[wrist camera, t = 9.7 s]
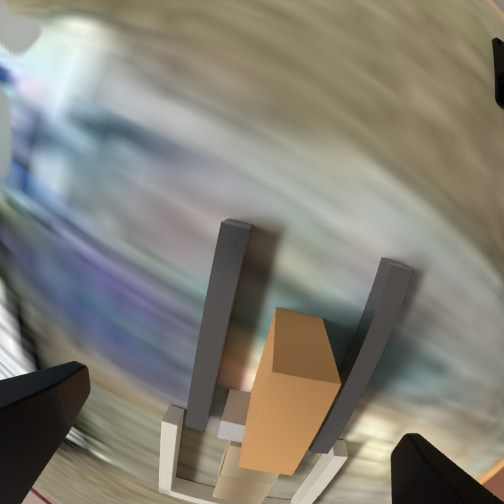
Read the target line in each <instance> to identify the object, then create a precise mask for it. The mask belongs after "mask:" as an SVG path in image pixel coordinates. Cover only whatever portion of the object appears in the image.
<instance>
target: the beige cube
mask: <svg viewBox="0 0 504 504" xmlns="http://www.w3.org/2000/svg"><path fill="white" fill-rule="evenodd" d="M241 447H242V443H239V442H234V441H230V440H229V441H228V445H227V449H226V454H225V458H224V462H223V467H222V471H221V475H223V476H228V477H232V478H237V479H242V480H248V481H253V482H259V483H266V484H272V485H274V483H275V481H276V480H277V478H278V476H279V474H276V473H269V472H263V471H257V470H251V469H246V468H241V467H238V464H239V458H240V452H241Z"/></svg>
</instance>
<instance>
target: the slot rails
mask: <svg viewBox="0 0 504 504" xmlns="http://www.w3.org/2000/svg"><path fill="white" fill-rule="evenodd" d="M251 229H252V225H251V224H246V223H242V222H238V221H234V220H229V219H226V220H225V221H223V222H221V226H220V231H219V235H218V240H217V245H216V250H215V255H214V260H213V265H212V270H211V275H210V280H209V285H208V291H207V296H206V301H205V306H204V312H203V317H202V323H201V328H200V334H199V340H198V345H197V351H196V357H195V363H194V369H193V375H192V381H191V387H190V394H189V400H188V407H187V413H186V420H185V426H186V427H189V428H193V429H196V430H200V431H203V432H204V431H205V428H206V425H207V422H208V419H209V416H210V411H211V406H212V402H213V397H214V393H215V388H216V384H217V379H218V375H219V370H220V366H221V361H222V357H223V353H224V348H225V344H226V339H227V335H228V330H229V326H230V321H231V317H232V313H233V308H234V304H235V299H236V295H237V291H238V286H239V282H240V277H241V273H242V269H243V264H244V260H245V255H246V251H247V247H248V242H249V238H250V234H251ZM413 272H414V271H413V270H412V269H410V268H409V267H407V266H406V265H404V264H403V263H399V262H396V261H392V260H388V259H385V258H381V261H380V265H379V268H378V271H377V274H376V277H375V280H374V284H373V287H372V290H371V292H370V295H369V298H368V301H367V304H366V307H365V310H364V312H363V315H362V318H361V321H360V323H359V326H358V328H357V331H356V334H355V336H354V339H353V341H352V344H351V346H350V349H349V351H348V354H347V356H346V358H345V361H344V363H343V365H342V368H341V370H340V372H339V378H340V381H341V386H340V388H339V390H338V392H337V394H336V396H335V398H334V400H333V403H332V405H331V407H330V409H329V411H328V412H327V414H326V416H325V418H324V420H323V422H322V424H321V426H320V428H319V430H318V431H317V433H316V435H315V437H314V439H313V441H312V442H311V444H310V446H309V452H314V453H324V454H328V453H329V451H330V450H331V448H332V446H333V445H334V443H335V442H336V440H337V438H338V437H339V435H340V433H341V432H342V430H343V428H344V427H345V425H346V423H347V421H348V420H349V418H350V416H351V414H352V413H353V411H354V409H355V407H356V405H357V403H358V402H359V400H360V398H361V396H362V394H363V392H364V390H365V388H366V386H367V384H368V382H369V380H370V378H371V376H372V374H373V372H374V370H375V368H376V366H377V363H378V361H379V359H380V357H381V355H382V352H383V350H384V348H385V346H386V343H387V341H388V339H389V336H390V334H391V331H392V329H393V327H394V324H395V322H396V319H397V316H398V314H399V311H400V309H401V306H402V303H403V301H404V298H405V295H406V292H407V289H408V287H409V284H410V281H411V278H412V275H413Z"/></svg>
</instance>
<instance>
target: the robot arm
mask: <svg viewBox="0 0 504 504" xmlns="http://www.w3.org/2000/svg"><path fill="white" fill-rule="evenodd" d="M492 45H493V55H494V70H495V99H496V102H497V103H498V104H499V105H500V106H501V107H503V108H504V42H503V41H501V40H500V39H499V38H494V39H493V40H492ZM501 99H502V100H501ZM90 389H91V387H90V379H89V371H88V368H87V366H86V365H84V364H81V363H79V362H77V361H72V362H68V363H65V364H61V365H58V366H54V367H50V368H47V369H43V370H39V371H35V372H31V373H27V374H24V375H20V376H16V377H12V378H7V379H3V380H0V504H21V503H22V502H23V500H24V498H25V497H26V495H27V494H28V492H29V491H30V489H31V488H32V486H33V485H34V483H35V482H36V480H37V479H38V477H39V475H40V474H41V472H42V471H43V469H44V468H45V466H46V465H47V464H48V462H49V461H50V459H51V458H52V456H53V455H54V453H55V452H56V450H57V449H58V447H59V446H60V444H61V443H62V442H63V440H64V439H65V437H66V436H67V434H68V433H69V431H70V429H71V427H72V426H73V424H74V422H75V420H76V418H77V416H78V414H79V412H80V410H81V409H82V407H83V405H84V403H85V401H86V399H87V398H88V396H89V394H90ZM391 488H392V504H504V502H503V501H501V500H500V499H499V498H498V497H496V496H494V495H493V494H492V493H491V492H490V491H489V490H487V489H486V488H485V487H484V486H482V485H481V484H480V483H479V482H477V481H476V480H475V479H474V478H472V477H471V476H470V475H469V474H467V473H466V472H465V471H464V470H462V469H461V468H460V467H459V466H457V465H456V464H455V463H454V462H453V461H451V460H450V459H449V458H448V457H446V456H445V455H444V454H443V453H442V452H440V451H439V450H438V449H437V448H436V447H434V446H433V445H432V444H431V443H430V442H428V441H427V440H426V439H425V438H424V437H422V436H421V435H420V434H418V433H407V434H405V435H404V436H403V437H402V439H401V440H400V441H399V443H398V444H397V446H396V447H395V449H394V450H393V452H392V454H391Z"/></svg>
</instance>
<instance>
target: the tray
mask: <svg viewBox="0 0 504 504" xmlns="http://www.w3.org/2000/svg"><path fill="white" fill-rule="evenodd" d="M184 410H185V409H182V408H178V407H175V406H172V405H170V406H169V408H168V410H167V412H166V414H165V416H164V418H163V420H162V428H161V445H160V468H159V492H161V493H164V494H167V495H170V496H173V497H177V498H180V499H183V500H187V501H190V502H194V503H198V504H246V503H240V502H235V501H230V500H225V499H220V498H216V497H213V493H214V489H215V488H214V487H210V486H206V485H202V484H198V483H195V482H191V481H188V480H184V479H181V478H178V477H176V471H177V463H178V455H179V447H180V439H181V431H182V424H183V417H184ZM347 458H348V454H347V449H346V444H345V440H338V439H337V440H336V442H335V443H334V445H333V446H332V448H331V450H330V451H329V453H328V454H324V453H323V454H322V455H321V457H320V458H319V460H318V461H317V463H316V464H315V466H314V467H313V469H312V471H311V472H310V473H309V475H308V476H307V478H306V479H305V481H304V482H303V484H302V485H301V486H300V488H299V489H298V491H297V492H296V493H295V495H294V496H293V497H292V499H291V500H284V499H276V498H268V497H265V498H264V500H263V502H262V503H261V504H312V503H313V502H314V501H315V499H316V498H317V497H318V496H319V495H320V493H321V492H322V491H323V490H324V488H325V487H326V486H327V485H328V483H329V482H330V481H331V480H332V478H333V477H334V476H335V474H336V473H337V472H338V470H339V469H340V468H341V466H342V465H343V463H344V462H345V461H346V459H347Z"/></svg>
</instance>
